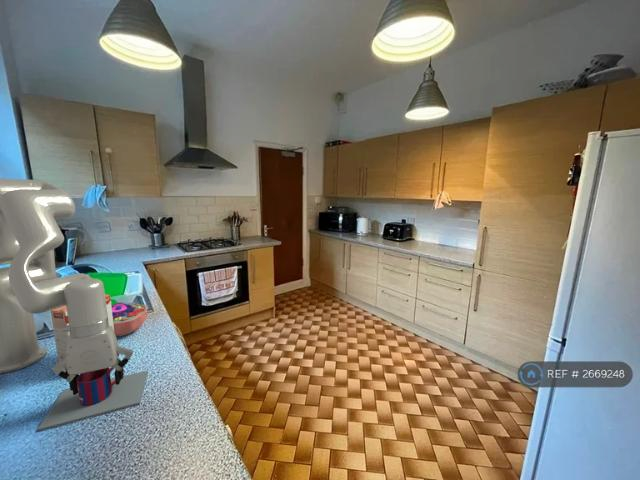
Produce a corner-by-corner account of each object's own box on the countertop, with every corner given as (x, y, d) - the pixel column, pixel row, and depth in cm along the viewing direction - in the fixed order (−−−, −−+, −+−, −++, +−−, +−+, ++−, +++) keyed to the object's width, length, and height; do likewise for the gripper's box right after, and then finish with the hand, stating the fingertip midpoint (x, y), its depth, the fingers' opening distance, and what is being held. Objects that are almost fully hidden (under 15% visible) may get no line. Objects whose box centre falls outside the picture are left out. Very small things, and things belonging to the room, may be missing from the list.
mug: (77, 396, 71) (74, 374, 70) (122, 377, 79) (119, 357, 78) (82, 410, 67) (79, 386, 66) (129, 388, 75) (126, 367, 73)
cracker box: (74, 376, 80) (64, 312, 77) (59, 373, 81) (48, 309, 78) (118, 350, 94) (110, 294, 90) (104, 348, 95) (96, 292, 91)
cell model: (100, 350, 93) (96, 320, 91) (92, 330, 107) (88, 303, 105) (155, 333, 105) (152, 306, 103) (141, 316, 119) (139, 292, 117)
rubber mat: (37, 431, 62) (37, 429, 62) (64, 391, 74) (63, 389, 74) (139, 404, 70) (139, 402, 70) (148, 372, 83) (147, 370, 82)
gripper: (37, 341, 62) (49, 406, 65) (127, 326, 69) (134, 386, 72) (52, 326, 68) (62, 386, 71) (133, 314, 76) (139, 369, 79)
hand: (98, 386), depth 72 cm, fingers closed on mug, 8 cm apart
